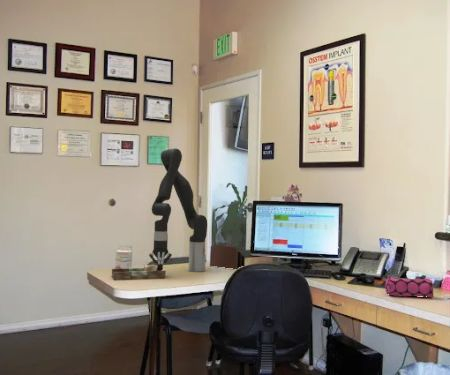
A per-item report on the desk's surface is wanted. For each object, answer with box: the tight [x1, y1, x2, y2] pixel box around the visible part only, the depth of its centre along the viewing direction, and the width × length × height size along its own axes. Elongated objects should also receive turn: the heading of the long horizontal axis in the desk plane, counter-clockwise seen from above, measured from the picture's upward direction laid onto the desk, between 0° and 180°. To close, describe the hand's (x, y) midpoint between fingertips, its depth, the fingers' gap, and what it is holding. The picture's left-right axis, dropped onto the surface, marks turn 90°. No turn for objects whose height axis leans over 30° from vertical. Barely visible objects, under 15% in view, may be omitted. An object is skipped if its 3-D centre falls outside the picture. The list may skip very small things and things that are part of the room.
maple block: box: [143, 264, 157, 271], centre depth 267 cm, size 6×6×4 cm
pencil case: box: [384, 274, 434, 298], centre depth 234 cm, size 21×10×10 cm, turn 84°
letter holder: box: [209, 244, 246, 270], centre depth 307 cm, size 10×20×14 cm, turn 59°
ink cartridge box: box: [114, 244, 133, 269], centre depth 283 cm, size 9×5×15 cm, turn 84°
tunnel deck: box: [111, 267, 166, 281], centre depth 265 cm, size 27×12×4 cm, turn 109°
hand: (159, 270), depth 269 cm, fingers closed
